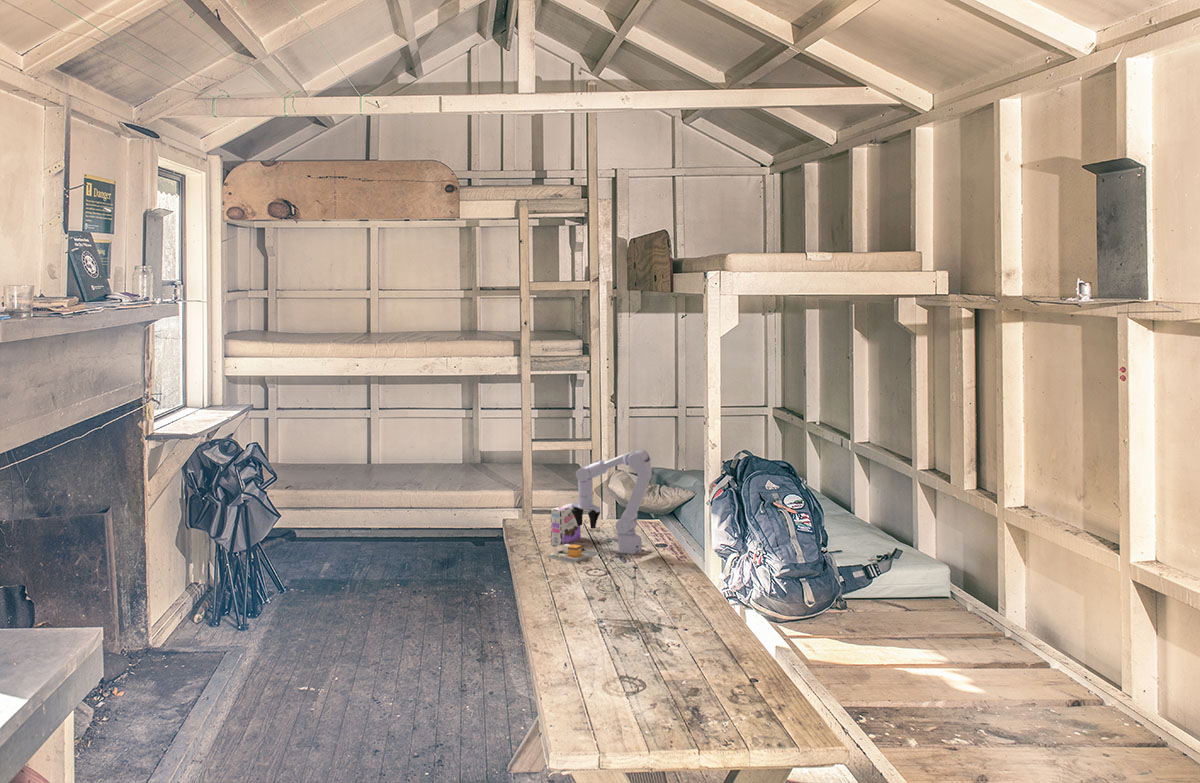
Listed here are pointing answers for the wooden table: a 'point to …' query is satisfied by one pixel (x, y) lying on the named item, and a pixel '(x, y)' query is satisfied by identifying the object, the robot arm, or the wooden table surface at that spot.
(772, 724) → the wooden table surface
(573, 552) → the cap
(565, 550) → the switch
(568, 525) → the candy box
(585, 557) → the breaker panel
